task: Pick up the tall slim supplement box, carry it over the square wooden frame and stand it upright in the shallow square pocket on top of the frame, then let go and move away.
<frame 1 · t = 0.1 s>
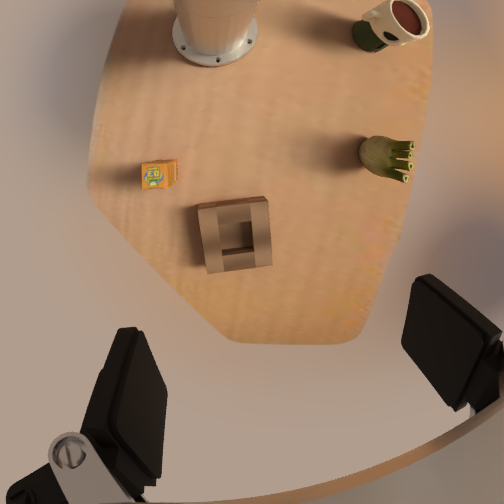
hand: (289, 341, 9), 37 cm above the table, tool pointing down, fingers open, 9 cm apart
character mug: (366, 37, 36), on the table
supplement box: (167, 169, 41), on the table
fennel bulb: (367, 152, 44), on the table
square wooden frame: (234, 230, 46), on the table
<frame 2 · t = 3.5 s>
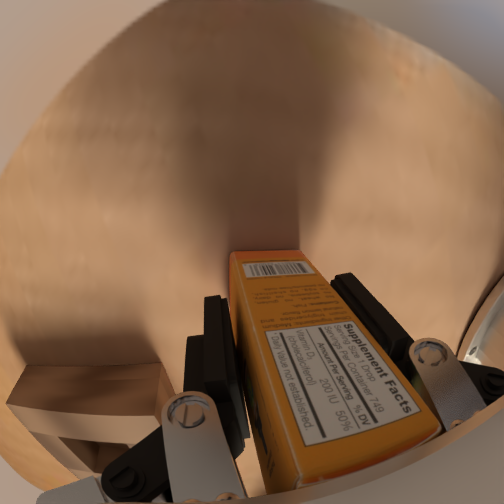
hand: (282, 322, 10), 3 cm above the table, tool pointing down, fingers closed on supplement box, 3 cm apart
supplement box: (266, 278, 13), on the table, touching gripper
square wooden frame: (117, 414, 16), on the table
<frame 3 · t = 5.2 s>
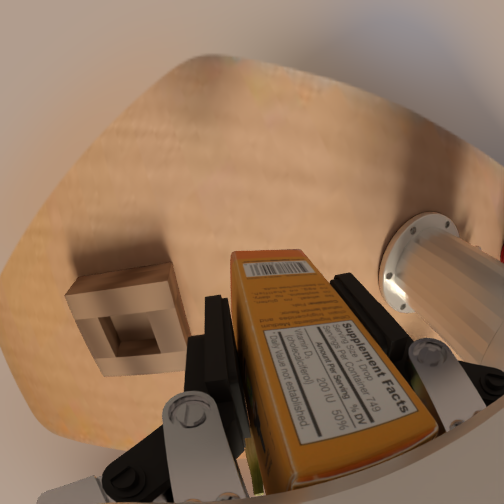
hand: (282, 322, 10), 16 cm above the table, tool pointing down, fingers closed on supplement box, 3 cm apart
supplement box: (267, 278, 13), point 13 cm above the table, touching gripper
fennel bulb: (263, 425, 38), on the table
square wooden frame: (137, 312, 28), on the table
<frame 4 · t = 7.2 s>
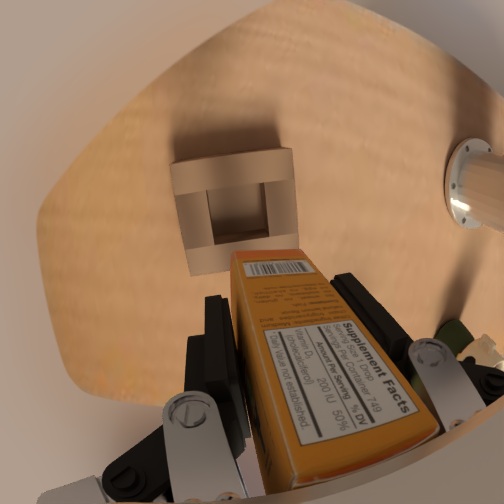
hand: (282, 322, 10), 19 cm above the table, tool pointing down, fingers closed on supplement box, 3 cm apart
character mug: (445, 331, 40), on the table
supplement box: (267, 277, 13), point 16 cm above the table, touching gripper
square wooden frame: (234, 204, 28), on the table
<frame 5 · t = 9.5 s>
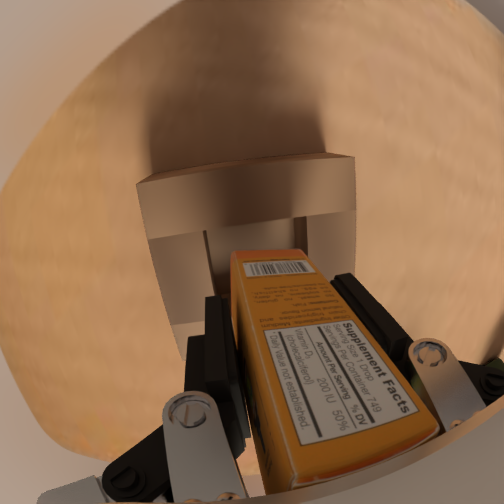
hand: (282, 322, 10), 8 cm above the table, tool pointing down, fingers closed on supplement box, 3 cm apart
character mug: (483, 370, 30), on the table
supplement box: (267, 277, 13), point 5 cm above the table, touching gripper
square wooden frame: (250, 242, 18), on the table
when the fingers open (5 cm above the table, at t = 11.3 s): supplement box stays where it is, point 1 cm above the table.
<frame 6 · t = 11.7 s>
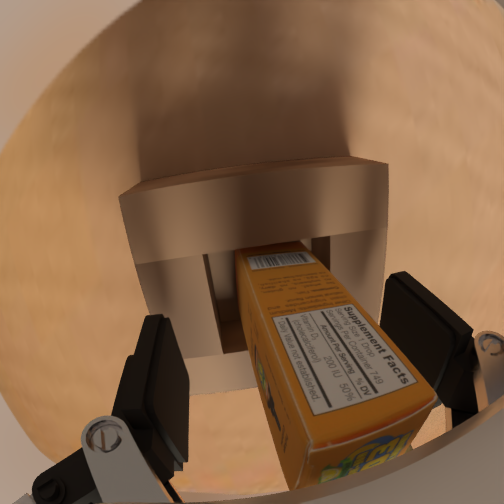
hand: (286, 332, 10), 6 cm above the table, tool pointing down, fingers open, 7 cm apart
supplement box: (270, 270, 14), point 1 cm above the table
square wooden frame: (258, 260, 15), on the table
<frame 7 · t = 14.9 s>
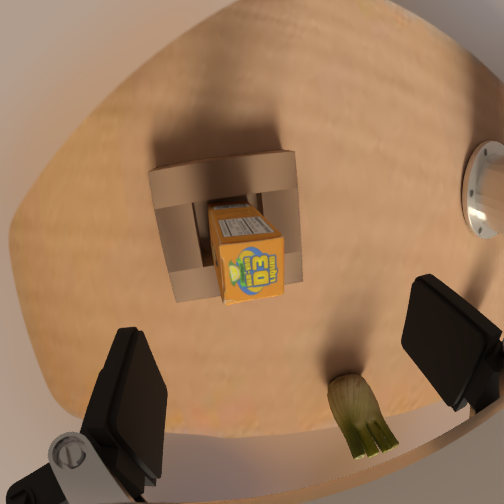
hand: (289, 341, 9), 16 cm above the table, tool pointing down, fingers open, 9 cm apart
supplement box: (230, 220, 23), point 1 cm above the table
fennel bulb: (342, 380, 34), on the table
square wooden frame: (226, 216, 24), on the table
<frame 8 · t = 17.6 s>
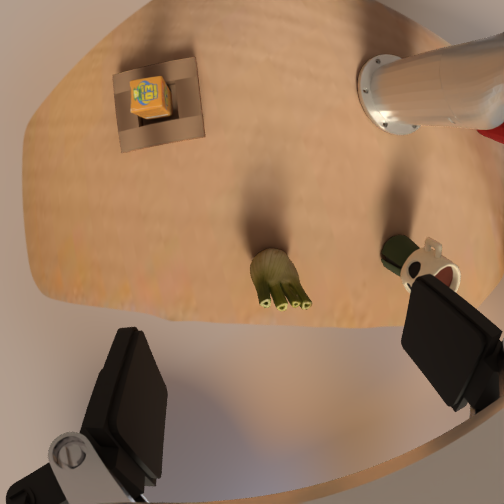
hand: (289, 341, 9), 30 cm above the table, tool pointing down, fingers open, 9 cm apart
character mug: (394, 250, 44), on the table
supplement box: (161, 105, 31), point 1 cm above the table, touching square wooden frame
plastic cup: (480, 120, 37), on the table
fennel bulb: (269, 259, 42), on the table
square wooden frame: (162, 106, 32), on the table, touching supplement box
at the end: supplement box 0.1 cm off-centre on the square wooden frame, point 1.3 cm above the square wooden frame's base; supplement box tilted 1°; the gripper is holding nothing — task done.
